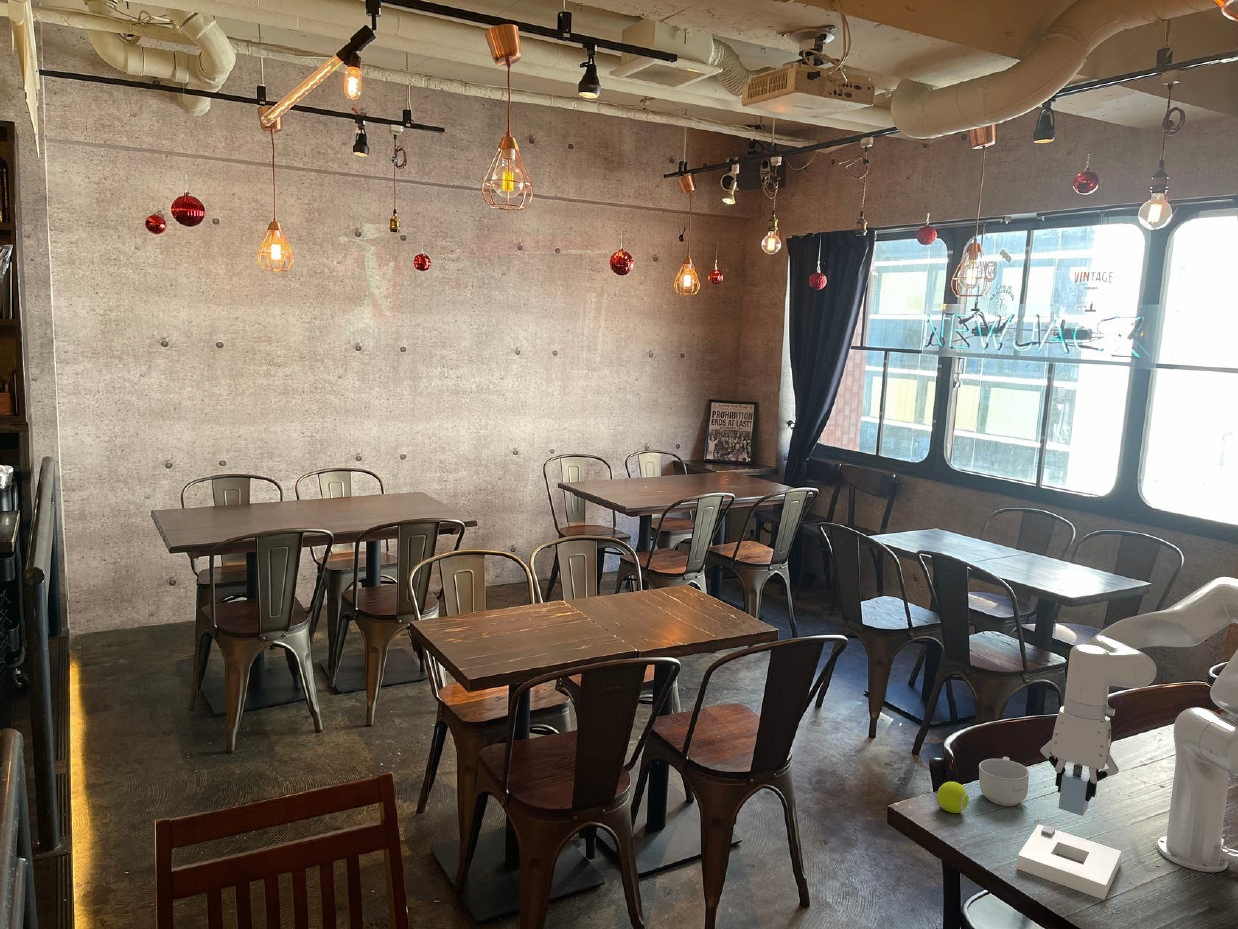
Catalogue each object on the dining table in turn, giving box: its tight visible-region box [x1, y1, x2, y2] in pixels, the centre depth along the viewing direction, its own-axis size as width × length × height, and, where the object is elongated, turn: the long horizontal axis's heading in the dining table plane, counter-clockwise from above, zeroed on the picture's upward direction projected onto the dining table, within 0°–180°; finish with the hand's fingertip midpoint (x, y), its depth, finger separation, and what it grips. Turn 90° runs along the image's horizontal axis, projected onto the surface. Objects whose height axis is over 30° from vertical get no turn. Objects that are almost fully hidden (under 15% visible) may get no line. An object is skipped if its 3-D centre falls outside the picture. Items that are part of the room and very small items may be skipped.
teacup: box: [978, 756, 1030, 807], centre depth 215 cm, size 14×11×8 cm
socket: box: [1016, 824, 1122, 901], centre depth 187 cm, size 16×16×4 cm
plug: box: [1058, 763, 1090, 817], centre depth 185 cm, size 4×4×9 cm
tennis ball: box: [936, 781, 970, 814], centre depth 208 cm, size 7×7×7 cm
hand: (1074, 793), depth 185 cm, fingers closed on plug, 4 cm apart
